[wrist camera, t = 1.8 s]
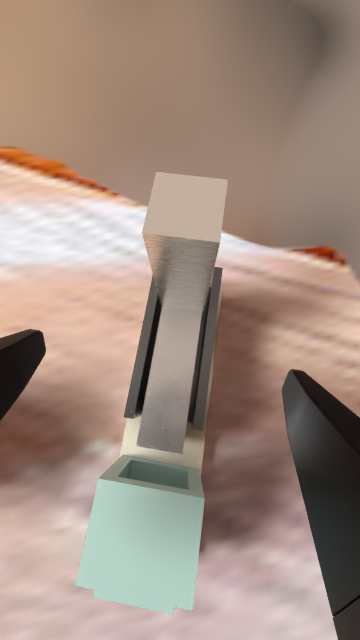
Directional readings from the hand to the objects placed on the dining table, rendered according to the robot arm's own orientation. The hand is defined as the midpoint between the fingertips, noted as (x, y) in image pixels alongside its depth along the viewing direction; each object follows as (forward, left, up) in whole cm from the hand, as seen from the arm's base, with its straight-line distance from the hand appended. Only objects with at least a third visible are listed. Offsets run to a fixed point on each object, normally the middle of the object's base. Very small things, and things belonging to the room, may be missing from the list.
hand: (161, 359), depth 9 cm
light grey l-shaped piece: (+1, -1, -10) cm, 10 cm away
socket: (-6, +6, -11) cm, 14 cm away
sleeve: (+2, -2, -11) cm, 11 cm away
